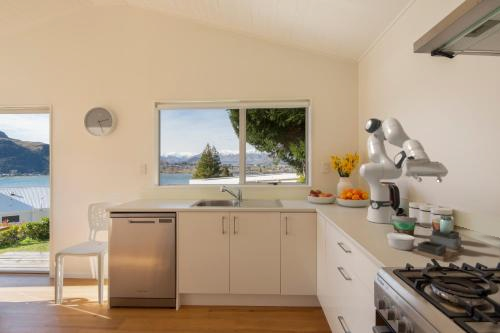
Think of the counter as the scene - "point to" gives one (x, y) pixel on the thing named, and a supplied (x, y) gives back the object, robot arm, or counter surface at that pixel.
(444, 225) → the teal cylinder
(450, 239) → the dock station
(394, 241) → the ramekin
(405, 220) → the food container
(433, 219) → the coffee cup
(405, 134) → the robot arm
